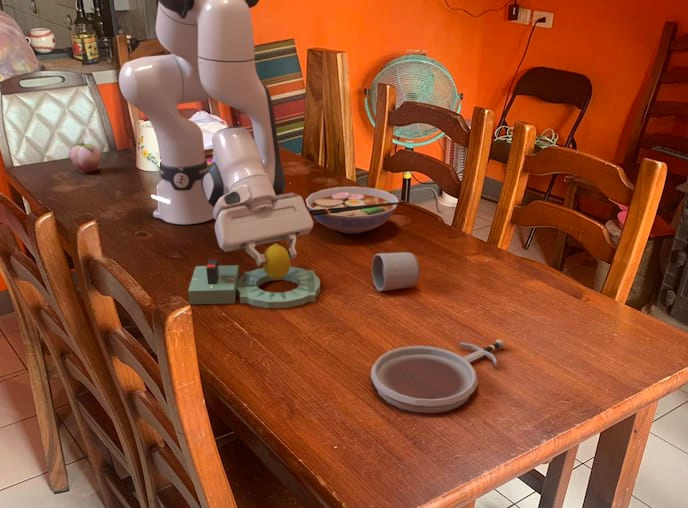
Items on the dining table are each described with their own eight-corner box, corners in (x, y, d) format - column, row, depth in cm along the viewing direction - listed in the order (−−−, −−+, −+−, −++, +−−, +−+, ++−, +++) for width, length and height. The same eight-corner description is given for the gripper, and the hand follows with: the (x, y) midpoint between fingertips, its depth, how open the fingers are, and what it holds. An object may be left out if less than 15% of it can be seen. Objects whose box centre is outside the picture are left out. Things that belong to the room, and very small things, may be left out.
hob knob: (210, 274, 138) (208, 258, 137) (219, 274, 139) (217, 258, 137) (207, 284, 135) (206, 267, 133) (217, 283, 135) (215, 267, 133)
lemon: (286, 287, 136) (285, 250, 132) (260, 284, 137) (258, 248, 133) (293, 275, 141) (292, 239, 136) (268, 273, 142) (266, 237, 137)
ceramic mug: (421, 291, 138) (423, 256, 134) (384, 297, 136) (385, 261, 132) (399, 272, 147) (401, 238, 143) (364, 277, 145) (365, 243, 141)
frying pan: (544, 355, 112) (424, 413, 97) (541, 370, 114) (422, 430, 99) (466, 317, 124) (348, 364, 109) (465, 331, 125) (348, 380, 110)
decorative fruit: (109, 170, 214) (104, 138, 209) (92, 177, 208) (86, 144, 202) (86, 167, 217) (80, 135, 212) (68, 174, 211) (61, 141, 206)
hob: (240, 273, 146) (239, 266, 146) (318, 271, 147) (318, 265, 146) (233, 309, 132) (233, 302, 131) (321, 307, 132) (321, 300, 132)
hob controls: (197, 279, 144) (195, 265, 142) (239, 278, 144) (238, 264, 143) (189, 304, 134) (187, 290, 132) (235, 303, 134) (233, 289, 132)
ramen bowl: (381, 209, 182) (382, 179, 177) (416, 239, 163) (418, 206, 159) (291, 219, 175) (290, 188, 171) (317, 252, 156) (316, 218, 152)
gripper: (294, 198, 145) (317, 256, 143) (205, 215, 136) (227, 277, 134) (304, 183, 139) (327, 244, 137) (211, 200, 131) (235, 264, 129)
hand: (277, 260), depth 136 cm, fingers closed on lemon, 5 cm apart
